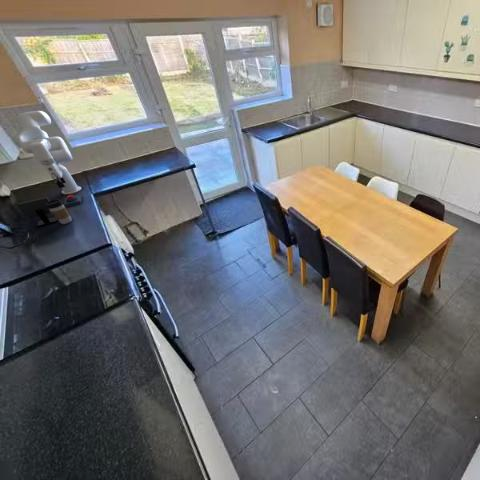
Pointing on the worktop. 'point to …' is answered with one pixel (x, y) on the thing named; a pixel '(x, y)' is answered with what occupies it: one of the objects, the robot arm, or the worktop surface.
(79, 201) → the switch box
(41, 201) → the screen
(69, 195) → the power button
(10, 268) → the worktop surface
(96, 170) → the worktop surface
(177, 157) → the worktop surface
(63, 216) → the coffee cup
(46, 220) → the monitor stand
